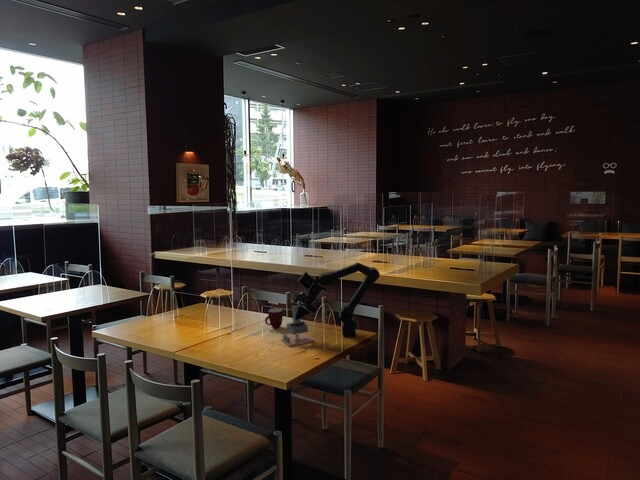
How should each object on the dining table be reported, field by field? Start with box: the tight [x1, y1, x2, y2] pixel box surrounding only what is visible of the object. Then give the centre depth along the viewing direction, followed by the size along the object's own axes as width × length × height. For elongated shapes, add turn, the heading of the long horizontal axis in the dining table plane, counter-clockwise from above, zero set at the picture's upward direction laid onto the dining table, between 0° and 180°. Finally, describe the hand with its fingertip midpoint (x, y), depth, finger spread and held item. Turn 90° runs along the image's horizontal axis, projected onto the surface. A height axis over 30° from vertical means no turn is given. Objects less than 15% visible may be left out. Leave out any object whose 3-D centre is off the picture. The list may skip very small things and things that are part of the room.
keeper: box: [280, 333, 315, 348], centre depth 245 cm, size 14×10×4 cm
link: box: [286, 305, 309, 336], centre depth 244 cm, size 8×8×13 cm
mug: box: [264, 307, 284, 330], centre depth 267 cm, size 11×8×10 cm
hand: (294, 318), depth 243 cm, fingers closed on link, 3 cm apart
